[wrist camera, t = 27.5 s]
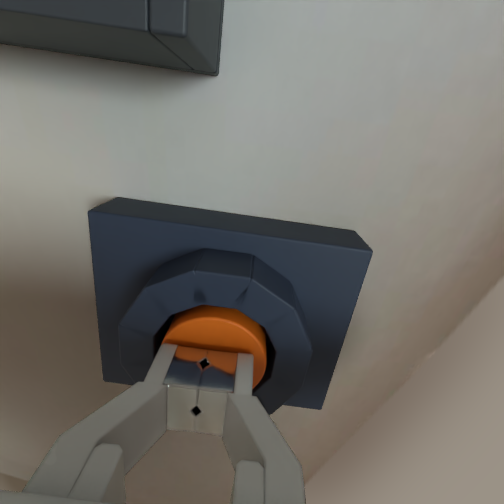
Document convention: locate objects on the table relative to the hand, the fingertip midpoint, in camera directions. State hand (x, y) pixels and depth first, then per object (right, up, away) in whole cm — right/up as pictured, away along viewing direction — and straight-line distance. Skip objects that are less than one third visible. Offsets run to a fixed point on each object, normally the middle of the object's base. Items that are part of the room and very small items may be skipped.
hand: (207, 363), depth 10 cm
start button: (0, +1, +2) cm, 2 cm away
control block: (0, +2, +4) cm, 4 cm away
